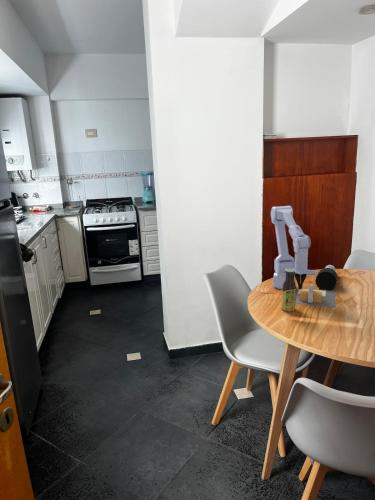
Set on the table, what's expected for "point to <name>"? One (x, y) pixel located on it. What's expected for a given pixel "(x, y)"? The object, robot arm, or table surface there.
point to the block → (316, 296)
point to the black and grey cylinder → (326, 278)
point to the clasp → (310, 293)
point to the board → (327, 299)
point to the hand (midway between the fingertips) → (300, 288)
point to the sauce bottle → (289, 292)
